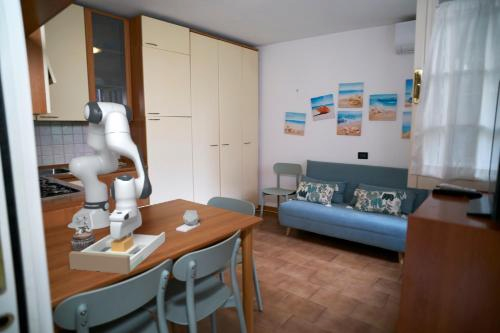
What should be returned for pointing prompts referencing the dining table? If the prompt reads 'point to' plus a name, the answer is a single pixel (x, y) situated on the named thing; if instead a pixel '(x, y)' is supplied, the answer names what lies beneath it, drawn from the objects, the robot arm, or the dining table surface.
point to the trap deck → (115, 254)
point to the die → (191, 217)
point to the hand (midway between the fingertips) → (128, 241)
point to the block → (122, 244)
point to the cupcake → (82, 238)
